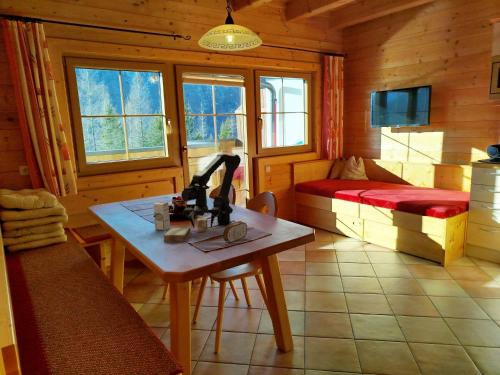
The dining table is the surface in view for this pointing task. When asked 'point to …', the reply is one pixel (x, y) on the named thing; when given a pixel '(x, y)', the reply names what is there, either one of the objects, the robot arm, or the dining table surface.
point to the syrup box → (161, 215)
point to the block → (202, 225)
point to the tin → (235, 231)
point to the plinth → (177, 235)
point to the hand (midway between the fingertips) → (202, 227)
